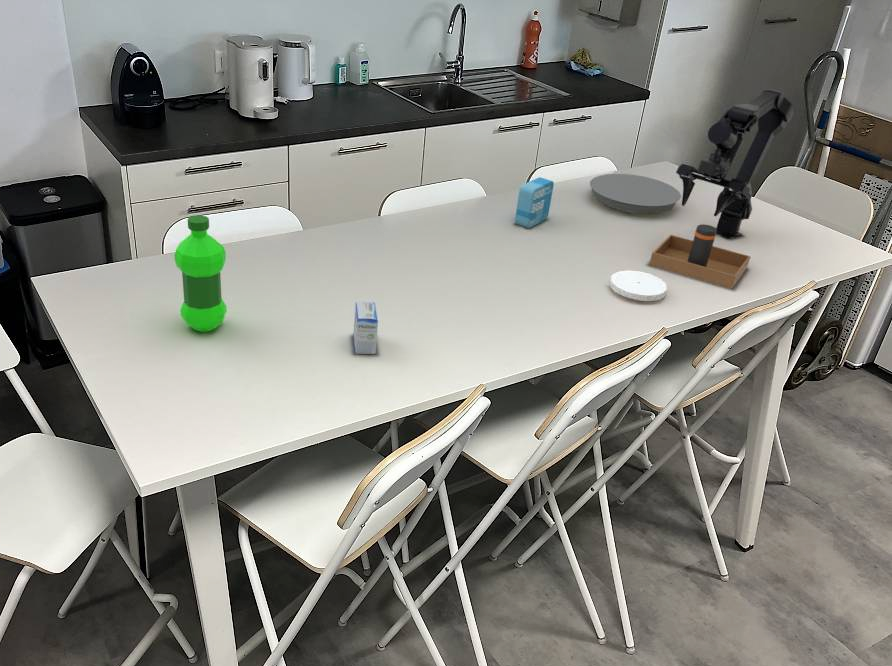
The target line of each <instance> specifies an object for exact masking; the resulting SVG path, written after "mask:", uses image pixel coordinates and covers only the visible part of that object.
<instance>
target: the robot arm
mask: <svg viewBox="0 0 892 666" xmlns="http://www.w3.org/2000/svg"><path fill="white" fill-rule="evenodd" d="M793 116H794V106H793V103H792V102H790V101H789V100H788V99H787V98H786V97H785V94H784V93H783V92H782V91H780V90H775V89H770V88H768V89H764V90H763V91H762V93H761V94H760V95H758V96H756V97H755V98H753V99H752V100H750V101H749V102H748V103H738V104H735V105H732V106H731V107H730V108H729V109H727V110H726V111H725V113H724V114H723V115H722V116H721V117H720V118H719V119H718V121H717V122H715V123H714V124H713V125H711V127H710V128H709V129H708V131H707V139H708V140H709V141H710V143H711V144H712V145H713V146H714V147H715V148H714V151H713V152H711V153H710V155H709V157H708V158H702V159H700V161H699V164H698V168H696V167H694V166H692V165H688V164H686V163H681V164H680V165H678V167H677V169H676V171H675V173H676V174H677V175H678V176H679V179H681V181H682V186H683V187H682V196H681V206H682V207H685V206H686V204H687V202H688V200H689V198H690V197H691V194H692V192H693V189H694V187H695V185H696V182H695V181H696V180H700V181H703V182H706V183H710V184H713V185H716V186H719V187H723V189H722V191H720V193H719V194H718V196H717V199H716V206H715V211H714V214H713V217H717V216H718V215H719V214H720V215H719V219H718V221H717V225H716V227H715V228H716V229H717V232H716V235H719V236H720V237H723V238H725V239H728V240H729V239H734V238H738V237H742V236H743V233H741V232H740V228H741V225H742V222H743V221H744V220H749V219H750V215H751V214H752V211H753V205H752V197H753V191H752V184H753V181H754V179H755V177H756V175H757V173H758V171H759V169H760V166H761V164H762V163H763V160H764V159H765V157H766V154H767V152H768V150H769V148H770V146H771V144H772V142H773V139H774V138H775V136H777V135H779V134H780V133H781V132H782V131H784V130H785V129H786V126H787V124H788V123H790V122H791V120H792V119H793ZM755 128H758V130H757V132H756V134H755V136H754V137H753V140H752V142H751V144H750V146H749V148H748V150H747V153H746V155H745V157H744V159H743V161H742V163H741V166H740V167H739V170H738V172H737V174H736V176H735V178H731V180H728V174H729V173H730V170H731V169H732V168H733V167H734V165H735V163H734V162H735V160H736V158H737V155H738V153H739V151H740V149H741V147H742V145H743V144H744V143H745V139H744V135H747V134H748V133H751V132H752V131H754V130H755Z"/></svg>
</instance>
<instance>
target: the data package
mask: <svg viewBox="0 0 892 666" xmlns="http://www.w3.org/2000/svg"><path fill="white" fill-rule="evenodd" d="M554 185H555V183H554V181H553V180H550V179H547V178H544V177H541V176H539V177H537V178H534V179H532V180H530V181H528V182H525V183H523V184H522V185H521V186H520V187H519V191H518V198H517V204H516V210H515V217H514V224H516V225H518V226H521V227H524V228H527V229H530V228H532V227H534V226H536V225H538V224H540V223H542V222H544V221H546V220H547V219H548V216H549V214H550V207H551V204H552V203H551V202H552V196H553V191H554Z"/></svg>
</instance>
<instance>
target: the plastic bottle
mask: <svg viewBox="0 0 892 666" xmlns="http://www.w3.org/2000/svg"><path fill="white" fill-rule="evenodd" d="M209 228H210V218H209V217H208V216H206V215H203V214H202V215H201V214H197V215H196V214H195V215H191V216H189V217H187V229H189V230H190V234H189V235H187V236H186V237H185V238H184V239H182V241H180V242H179V243H178V246H177V247H176V249H175V252H174V262H175V266H176V268H178V269H179V270H180V271H181V277H182V290H183V291H182V292H183V303H182V304H181V306H180V307H181V308H180V309H179V310H180V317H181V318H182V320H183V321H184V322H185V323H186V324H187V325H188V327H190V328H191V329H193V330H194V331H196V332H199V333H200V332H201V333H207V332H211V331H214V330H216V328H218V327H219V326H221V324H222V323H223V322H224V319H225V316H226V313H227V305H226V304H225V301H224V299H223V298H222V281H221V280H222V277H221V271H222V270H223V268H224V267H225V264H226V259H227V253H226V248H224V245H222V244H221V243H220V242H219V241H218V240H216V239H215V238H214V237H213V236H211V235H209V233H208V231H209Z"/></svg>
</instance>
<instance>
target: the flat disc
mask: <svg viewBox="0 0 892 666" xmlns="http://www.w3.org/2000/svg"><path fill="white" fill-rule="evenodd" d="M589 186H590V188H591V192H592V196H593V197H594V198H595V199H597V200H598V201H600V202H602V203H603V204H604V205H606V206H608V207H609V208H612V209H616V210H617V209H618V210H620V211H623V212H625V213H633V214H643V213H650V214H654V213H658V214H659V213H664V212H668V211H671V210H672V209H673V208H674V207H675V205H676V204H677V203H678V202H679V201H680V200H681V199H682V195H681V192H680V191H679V190H678V189H677V188H675V187H674V186H673V185H671V184H669V183H667V182H664V181H661V180H659V179H657V178H656V179H655V178H652V177H647V176H643V175H638V174H630V173H629V174H628V173H608V174H607V173H606V174H601V175H597V176H595V177H593V178H592V179H590V181H589Z"/></svg>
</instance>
